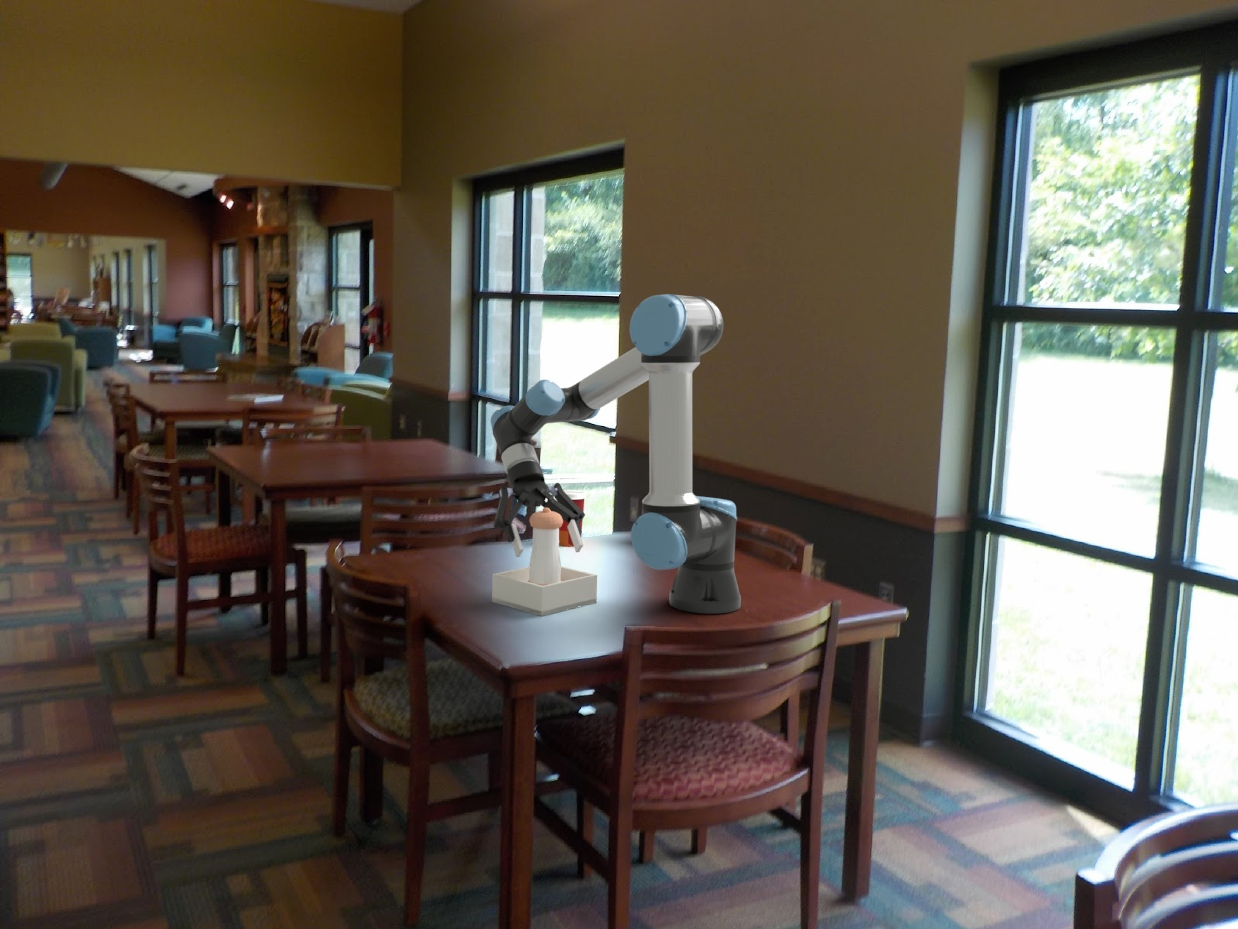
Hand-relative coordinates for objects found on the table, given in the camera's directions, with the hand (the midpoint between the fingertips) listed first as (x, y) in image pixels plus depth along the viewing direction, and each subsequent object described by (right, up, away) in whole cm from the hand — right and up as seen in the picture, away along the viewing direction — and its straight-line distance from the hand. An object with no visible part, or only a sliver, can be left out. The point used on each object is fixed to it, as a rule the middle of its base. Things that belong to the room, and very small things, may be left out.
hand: (550, 551), depth 235 cm
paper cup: (+1, -3, +63) cm, 63 cm away
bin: (-1, -11, +4) cm, 12 cm away
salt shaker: (-1, -10, +4) cm, 11 cm away
